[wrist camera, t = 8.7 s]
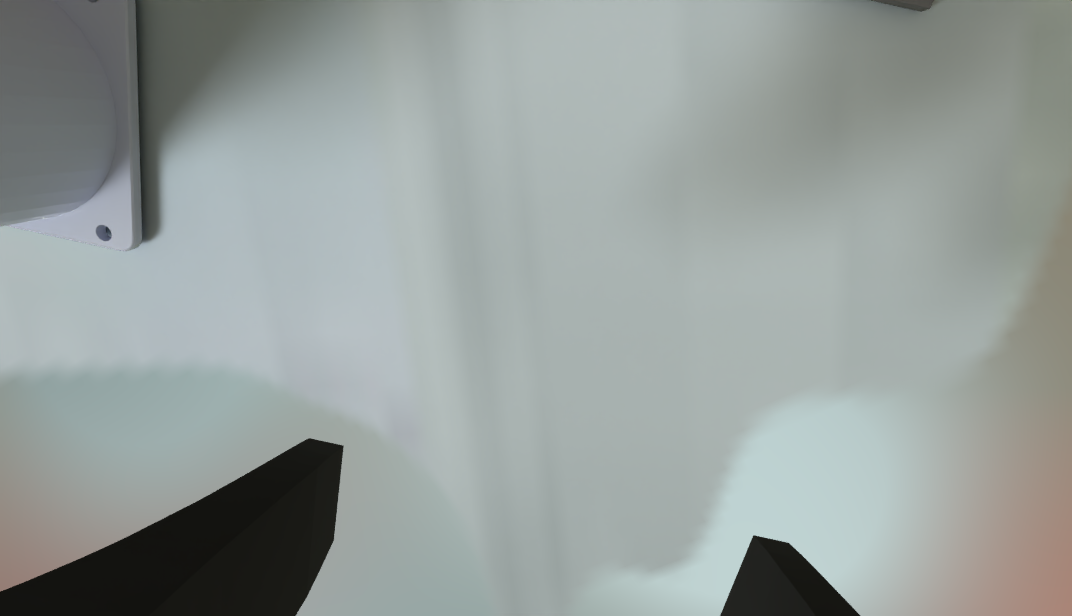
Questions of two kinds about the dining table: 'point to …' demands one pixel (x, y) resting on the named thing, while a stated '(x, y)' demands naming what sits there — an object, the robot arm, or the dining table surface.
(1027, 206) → the dining table surface
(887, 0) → the mat
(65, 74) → the robot arm
